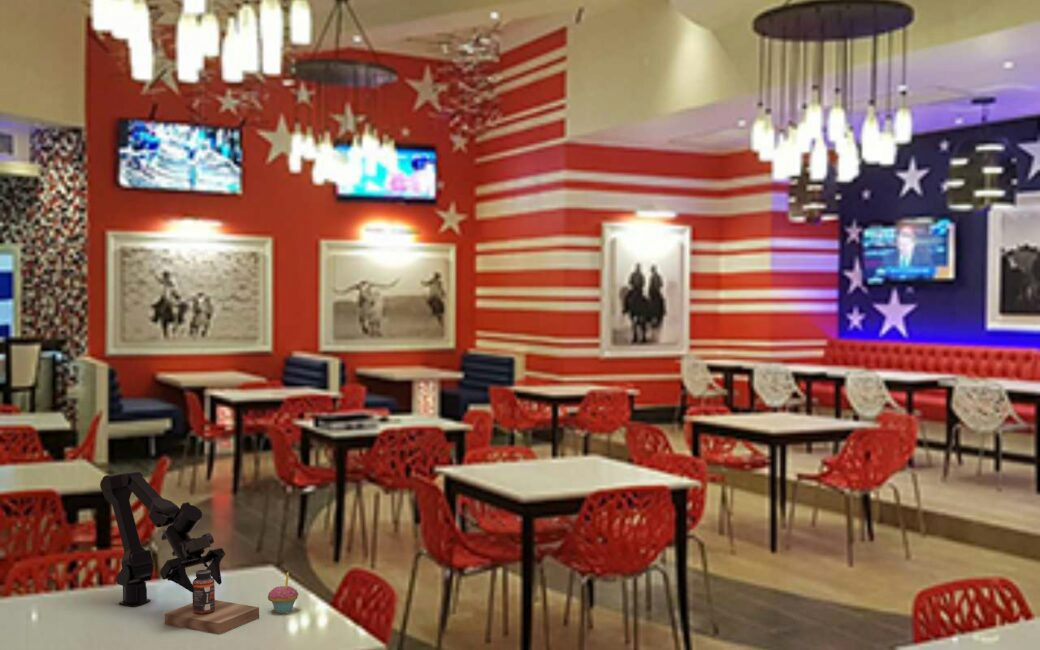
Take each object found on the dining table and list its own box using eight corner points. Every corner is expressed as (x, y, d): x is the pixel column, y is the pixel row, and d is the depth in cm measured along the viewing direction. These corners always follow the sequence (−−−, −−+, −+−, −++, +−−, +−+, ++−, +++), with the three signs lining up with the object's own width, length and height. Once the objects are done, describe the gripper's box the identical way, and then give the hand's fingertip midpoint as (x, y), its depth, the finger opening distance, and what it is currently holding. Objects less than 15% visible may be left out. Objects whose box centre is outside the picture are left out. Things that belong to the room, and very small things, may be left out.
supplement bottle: (214, 614, 297) (213, 573, 296) (191, 615, 296) (191, 574, 295) (215, 607, 303) (215, 568, 302) (193, 609, 302) (193, 569, 301)
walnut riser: (164, 624, 298) (164, 613, 298) (205, 608, 312) (205, 598, 312) (219, 634, 289) (219, 623, 289) (259, 617, 303) (259, 607, 303)
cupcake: (304, 608, 311) (303, 567, 311) (286, 617, 304) (285, 575, 303) (280, 605, 315) (279, 564, 315) (261, 613, 307) (261, 571, 307)
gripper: (165, 531, 293) (191, 577, 287) (220, 519, 308) (246, 563, 302) (148, 556, 298) (173, 602, 292) (203, 542, 313) (229, 586, 307)
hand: (207, 587), depth 298 cm, fingers open, 9 cm apart
